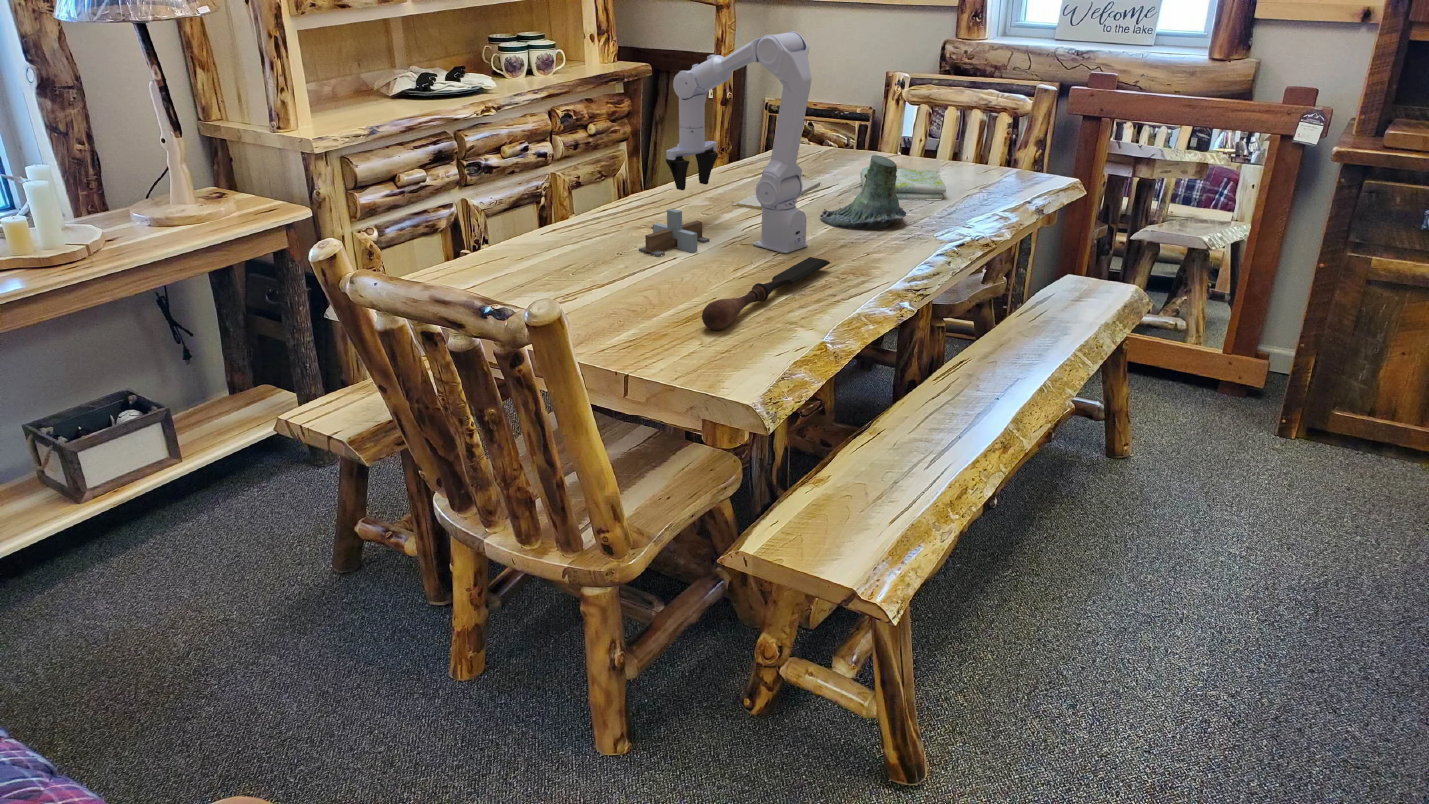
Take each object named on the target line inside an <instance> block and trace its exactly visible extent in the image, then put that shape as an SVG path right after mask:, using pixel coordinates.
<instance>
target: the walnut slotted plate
mask: <svg viewBox="0 0 1429 804" xmlns="http://www.w3.org/2000/svg"><path fill="white" fill-rule="evenodd" d="M682 229H683V230H687V231H691V232H694V233H697V243H700V244H705V243H709V242H710V241H711V240H710V238H709V237H705V236H703V221H701V220H695V221H691V222H688V223H685V224H682ZM644 236H645V237H644V238H645V240H644V241H645V246H644V247H641V248H638V252H639V251H641V252H640V253H642V252H643V254H647V255H649V254H650V256H653V255H655V256H654V257H657V258H659V257H662V256H661V255H664V256H665V255H666V252H665V251H664V250H666V251H669V250H672V249H676V248H678V243H677V239H674V238H672V231H671V230H667V229H666V230H662V231H659V232H655V233H653V232H652V233H649V234H646V235H644ZM675 247H676V248H675ZM668 249H669V250H668ZM662 251H663V252H662Z"/></svg>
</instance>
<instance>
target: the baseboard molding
mask: <svg viewBox="0 0 1429 804" xmlns="http://www.w3.org/2000/svg"><path fill="white" fill-rule="evenodd" d="M801 177H804V178H807V180H805V179H801V180H802V185H803V189H802V193H801V195H800V196H802V195H804V194H805V193H807V192H809V191H812V190H813V189H815V188H817V187H819V186H821V181H817V180H816V179H817V178H816V177H815V178H814V180H810V179H809V177H808V176H807V177H806V175H805V174H801ZM808 179H809V180H808ZM815 180H816V181H815ZM736 206H738V207H737V208H743V207H746V208H745V209H750V210H757V211H762V207H761V204H760V202H759V201H758V199H757V197H756V193H754V194H752V195H750V196H748V197H745V198H744V199H742V200H739V201H737V202H735V203H732V204H731V207H736Z"/></svg>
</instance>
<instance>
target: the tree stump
mask: <svg viewBox="0 0 1429 804" xmlns="http://www.w3.org/2000/svg"><path fill="white" fill-rule="evenodd" d="M869 162H870V163H869V165H868V167H869V169H868V170H867V171H868V172H867V173H866V174H865V175H864V177H865V178H866V181H865V184H864V187H862V191H860V192H859V193H858V194H857V195H856V196H855V198H854V200H852V201H851V202H850V203H849V204H848V205H847V206H845V207H843V208H841V207H839V208H837V209H835V210H827V209H826V208H824V209H823V210H822V213H821V214H820V216H819V219H820V221H821V222H822V223H824V224H826V225H829V226H831V227H833V228H839V229H840V228H841V229H851V230H853V229H855V230H856V229H857V230H860V229H861V230H869V229H870V230H872V229H873V230H874V229H884V228H886V227H887V226H889V225H890V224H892V223H894V222H895V221H898V220H901V219H903V218H905V217H906V216H907V212H906V211H905V210H904V208H903V207H900V201H899V200H898V198H897V195H896V192H895V184H896V178H897V176H896V172H897V168H898V167H897V163H895V161H893V160H892V159H890V158H887V157H885V156H883V155H879V154H878V155H877V154H874V155H873V154H872V155H871V157H870V161H869ZM888 224H889V225H888ZM885 226H886V227H885Z"/></svg>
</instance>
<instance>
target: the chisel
mask: <svg viewBox="0 0 1429 804" xmlns="http://www.w3.org/2000/svg"><path fill="white" fill-rule="evenodd" d="M830 264H831V261H828V259H827V260H826V259H825V258H824V259H823V258H818V257H812V256H810V257H807V258H805V259H803V260H801V261H800V262H798V263H796V264H794V265H793V266H791V267H789V268H787V269H785V270H783V271H781V272H779V273H778V274H776V275H774V276H773V277H772V278H771V281H770V282H766V283H760V282H757V283H755V284H754V285H753V286H752V287H751V290H749V291H748V293H746V294H745V295H743V296H739V297H735V298H722V299H716V300H714V301H712V302H711V301H710V302H709V303H708V304H707V305H705V307H704V309H703V310H702V313H701V321H702V322H703V325H704V326H705V327H706V328H708V329H710V330H712V331H720V330H723V329H725V328H727V327H728V326H730V325H731V324H732V323H733V322H734V320H735V319H736V318H737V317H738V315H739V314H740V313H741V312H742V310H744V308H746V307H747V306H748V305H750V304H752V303H764V302H766V301H767V300H768V298H769V295H770V294H772V293H773V292H774V291H775V290H776V289H779V288H781V287H784V286H793V285H795V284H797V283H798V282H800V281H802V280H804V279H806V278H807V277H809V276H811V275H813V274H814V273H817V272H818V271H819V270H822V269H823V268H824V267H826V266H828V265H830Z"/></svg>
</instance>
